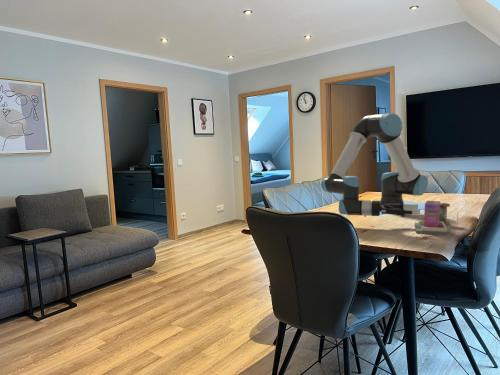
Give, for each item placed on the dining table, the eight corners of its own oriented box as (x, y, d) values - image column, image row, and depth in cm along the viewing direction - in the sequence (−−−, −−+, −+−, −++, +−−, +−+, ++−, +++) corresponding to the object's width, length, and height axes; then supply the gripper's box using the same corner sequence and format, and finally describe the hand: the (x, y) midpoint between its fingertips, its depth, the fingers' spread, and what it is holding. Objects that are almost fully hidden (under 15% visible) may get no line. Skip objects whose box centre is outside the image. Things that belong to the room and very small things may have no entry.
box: (437, 230, 165) (438, 204, 164) (423, 229, 168) (424, 203, 167) (439, 225, 174) (440, 201, 172) (426, 224, 177) (426, 200, 175)
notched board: (416, 233, 166) (416, 227, 166) (414, 225, 182) (414, 219, 181) (451, 235, 161) (451, 229, 161) (446, 226, 177) (446, 221, 176)
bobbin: (436, 224, 181) (436, 204, 180) (435, 222, 187) (435, 202, 186) (449, 225, 179) (450, 205, 178) (448, 222, 185) (449, 203, 183)
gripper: (372, 211, 192) (416, 212, 184) (369, 220, 168) (420, 223, 161) (372, 196, 191) (417, 197, 183) (370, 204, 168) (421, 206, 160)
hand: (418, 209), depth 172 cm, fingers open, 13 cm apart
